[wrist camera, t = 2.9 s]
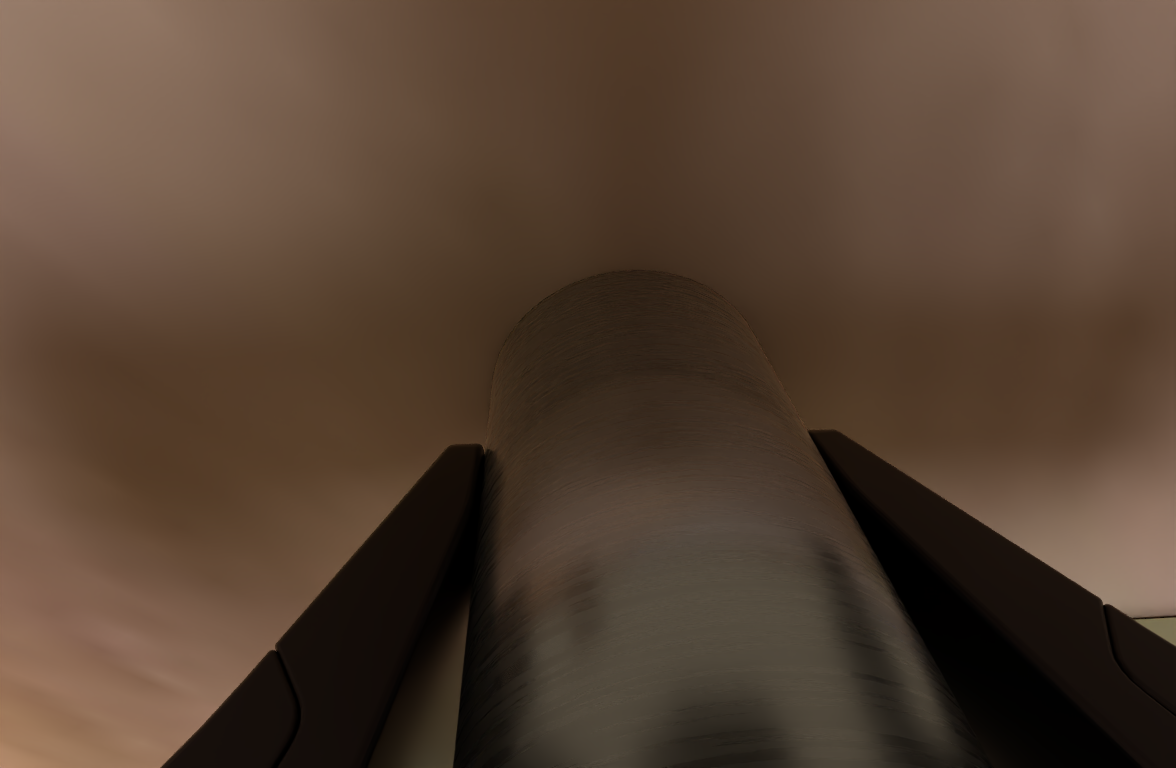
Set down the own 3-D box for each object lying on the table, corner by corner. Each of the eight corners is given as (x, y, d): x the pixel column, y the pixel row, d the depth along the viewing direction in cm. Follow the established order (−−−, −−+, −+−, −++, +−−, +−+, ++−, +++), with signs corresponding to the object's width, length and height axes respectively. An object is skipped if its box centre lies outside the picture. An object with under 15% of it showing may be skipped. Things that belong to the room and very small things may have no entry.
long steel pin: (783, 266, 9) (1255, 884, 3) (744, 491, 11) (976, 1102, 5) (479, 274, 9) (361, 957, 3) (501, 502, 11) (460, 1149, 5)
